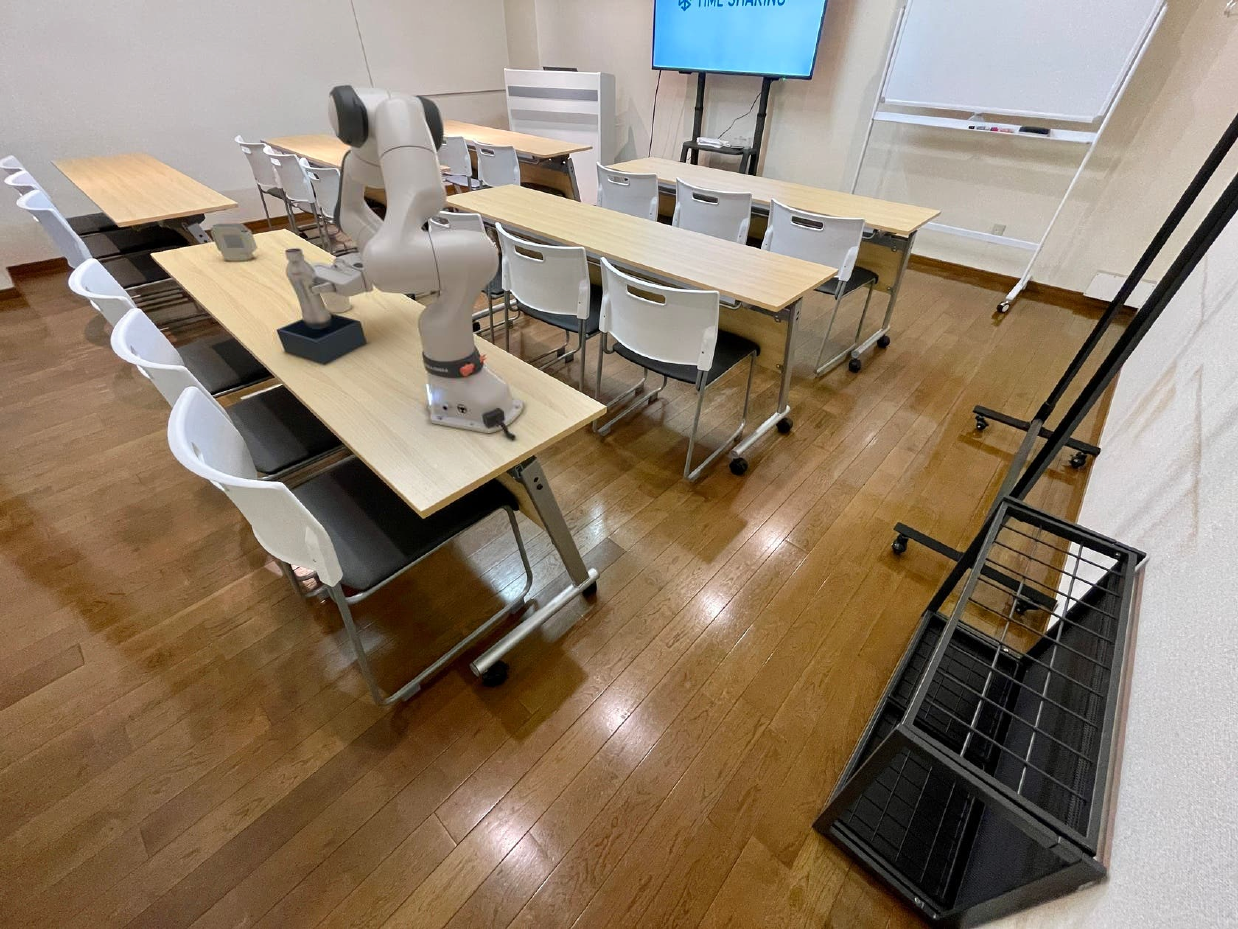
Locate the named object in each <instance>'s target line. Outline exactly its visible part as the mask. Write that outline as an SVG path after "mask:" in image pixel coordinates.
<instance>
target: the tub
mask: <svg viewBox="0 0 1238 929" xmlns="http://www.w3.org/2000/svg"><path fill="white" fill-rule="evenodd" d="M329 313H330V315H331V324H330V325H329V326H328V327H326V328H322V329H311V328H309V327H308V326H307V325H306V324H305V322H304V321H303V318H301V319H299V320H296V321H294V322H292V323H289V324H287V325H284V326H282V327H279V328H277V329H276V330H275V331H276V333H277V336H278V338H279V340H280V344H281V345H282V348H283V350H284V353H286V354H289V355H292V356H295V357H298V358H302V359H305V360H308V361H311V362H313V363H318V364H321V365H323V366H325V365H327V364H329V363H331V362H334V361H336V360H337V359H340V358H341V357H343V356H345V355H347V354H349V353H351V352H353V351H355V350H357V349H359V348H360V347H362V346H364V345H366V344H367V343H368V342H367V339H366V335H365V333H364V329H363V325H362V321H360V320H357V319H353V318H350V317H346V316H343V315H339V314H337V313H333V312H329Z"/></svg>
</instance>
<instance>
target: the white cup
mask: <svg viewBox="0 0 1238 929" xmlns="http://www.w3.org/2000/svg"><path fill="white" fill-rule="evenodd" d="M320 294H321V297H322V299H323V302H324V304H325V306H326V308H327V309H328V311H329V313H333V314H339V313H343V312H348V311H349V310H351V308H352V306H351V302H350V296H349V297H345V296H342V295H339V294H336V293H333V292H328V293H320Z"/></svg>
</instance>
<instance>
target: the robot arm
mask: <svg viewBox="0 0 1238 929" xmlns="http://www.w3.org/2000/svg"><path fill="white" fill-rule="evenodd" d="M327 115H328V119H329V122H330V126H331V127H332V130H333V131H334V133H335V136H336V138H338V139H339V140H340V142H341V143H342V144H344V145H346V146H349V147H350V149H348V150H347V151H346V152H345V153H344V155H343V156H342V160H341V164H340V172H339V181H338V182H339V183H338V192H337V193H338V194H337V200H336V204H335V206H334V209H333V214H332V216H333V217H332V220H333V223H334V225H335V227H336V229H337V230H339V231H340V232H341V233H342V234H344V235H345V236H346V237H348V238H349V239H350V240H351V241H352V242H354V244H355V245H356V246H358V247H359V251H358V252H351V253H348V254H345V255H341V256H338V257H335V258H334V259H333V261H332V264H329V263H325V262H322V261H321V262H318V261H317V262H312V263H309V264H310V265H311V266H312V267H313V268H314V270H315V273H316V278H317V283H318V285H313V286H310V287H309V289H310V292H311V293H313V294H319V293H320V294H321V293H328V292H333V293H336V294H339V295H342V296H345V297H349V298H350V297H355V296H358V295H361V294H364V293H371V292H373V291H374V287H375V288H376V289H377V290H378V291H380V292H382V293H387V294H400V295H401V294H403V295H408V294H409V295H410V294H419V293H428V292H438V291H440V292H441V293H440V295H439V297H438V298H437V299H436V300H435V301H433V302H431V303H430V304H429V305H428V306H425V308H423V310H422V311H421V313H420V314H419V316H418V319H417V329H418V333H419V337H420V342H421V346H422V351H421V357H422V364H423V366H424V370H425V371H426V372H427V384H426V390H427V396H428V403H427V404H428V405H427V409H428V411H429V413H430V416H429V419H430V423H432V424H433V425H434V424H435V425H439V426H445V427H451V428H455V429H461V430H467V431H473V432H477V433H484V434H492V433H495V432H498V431H500V430H502V431H503V432H504V435H505V436H506V437H507V438H508V439H511V440H515V439H516V435H515V434H513V433H511V431H509V428H508V426H509V425H510V424H512V422H514V421H515V420H516V419H517V418H518V417H519V416H520V415H521V413H522V411H523V409H524V405H523V401H522V400H520V399H517V398H516V397H514V396H513V395H512V391H511V389H510V386H509V385H508V383H506V382H505V380H503V379H502V377H501V375H500V374H496V373H495V372H494V371H492V369H490V368H489V367H488V366H487V365H485V363H484V361H485V360H486V359H487V357H486V356H487V354H483V355H481V354H480V351H479V350H478V347H477V346H476V345H475V338H474V328H473V313H474V309H475V304H476V302H477V300H478V298H479V296H480V295H481V293H482V291H483V290H484V289H485V288H486V287H487V286H488V285H489V284H490V283H491V282H492V281H493V280H494V278H496V275H497V273H498V271H499V266H500V259H499V253H498V252H499V251H498V249H497V247H496V245H495V244H494V242H493V240H492V239H491V237H490V236H488V235H487V234H486V233H485V232H483V231H476V230H471V229H470V230H467V229H460V228H459V229H450V230H446V229H445V230H435V231H434V230H433V231H427V230H423V229H422V228H423V226H424V225H425V223H427V222H428V221H429V220H431V219H433V218H434V217H436V216H437V215H439V213H440V212H441V211H443V209H444V208H445V205H446V203H447V199H448V195H447V194H448V193H447V189H446V185H445V181H444V176H443V172H442V168H441V164H440V159H439V155H438V152H439V151H440V149H441V148H442V146H443V142H444V135H445V127H444V122H443V118H442V113H441V111H440V109H439V107H438V106H437V105H436V103H435V102H434V101H433V100H431V99H429V98H427V97H424V96H421V95H416V96H414V95H411V94H408V93H405V92H400V91H394V90H389V89H386V88H383V87H382V88H381V87H373V86H372V87H371V86H370V87H369V86H352V85H351V84H343V85H337V86H334V87H333V88H332V89H331V91H330V92H329V96H328V101H327ZM366 187H368V188H371V189H380V190H381V189H382V190H383V189H384V190H385V196H386V212H385V216H384V219H382V218H381V217H380V216H378V214H376V213H375V212H374V211H373V210H372V209H371V207H369V205H368V204H367V202H366V200H365V198H364V197H365V190H366Z"/></svg>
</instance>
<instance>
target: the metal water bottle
mask: <svg viewBox="0 0 1238 929" xmlns="http://www.w3.org/2000/svg"><path fill="white" fill-rule="evenodd" d="M284 253H285V256H286V260H287V261H288V263H287V265H286V267H285V275H286V277H287V279H288V281H289V283H290V285H291V286H292V288H293V291H294V293H295V295H296V297H297V300H298V303H299V307H300V310H301V317H302V319H303V321H304V322H305V324H306V325H307V326H308V327H309V328H311V329H322V328H326V327H328V326H329V325H330V324H331V315H330V313H331V312H330V311H328V309H327V306H326V304H325V302H324V300H323V298H322V295H321V293H319V294H313V293H311V292H310V289H309V287H310V286H313V285H318V283H317V278H316V273H315V270H314V268H313V267H312V266H311V265H310V264H311V263H309V262H308V261H307V260H305V254H304V253H303V250H302V249H301V248H297V247H293V248H288V249H286V250H285V251H284Z"/></svg>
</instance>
